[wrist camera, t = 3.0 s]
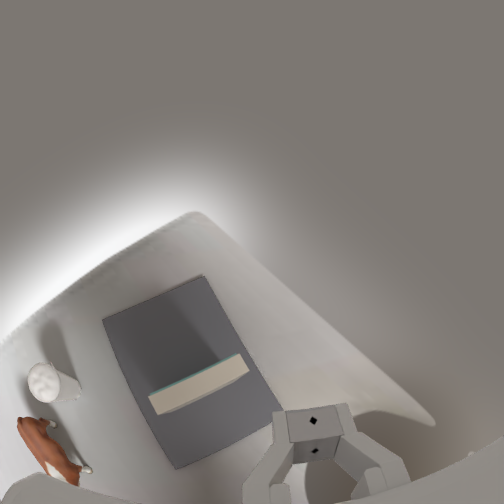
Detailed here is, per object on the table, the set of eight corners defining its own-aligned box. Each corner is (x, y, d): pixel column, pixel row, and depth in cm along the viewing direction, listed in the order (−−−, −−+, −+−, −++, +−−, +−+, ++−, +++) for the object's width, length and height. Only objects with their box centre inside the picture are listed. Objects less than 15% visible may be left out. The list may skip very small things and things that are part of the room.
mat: (284, 413, 33) (285, 413, 33) (176, 468, 27) (175, 469, 27) (204, 277, 41) (204, 275, 41) (103, 321, 35) (102, 319, 35)
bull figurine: (90, 502, 21) (68, 519, 14) (34, 422, 25) (2, 420, 18) (112, 491, 23) (92, 508, 16) (53, 409, 27) (22, 406, 20)
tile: (234, 381, 34) (249, 370, 24) (171, 412, 31) (157, 415, 20) (226, 368, 35) (238, 351, 25) (164, 398, 31) (146, 394, 21)
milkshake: (95, 386, 30) (64, 378, 22) (72, 411, 28) (36, 409, 19) (74, 362, 31) (39, 346, 23) (52, 387, 29) (13, 376, 20)
